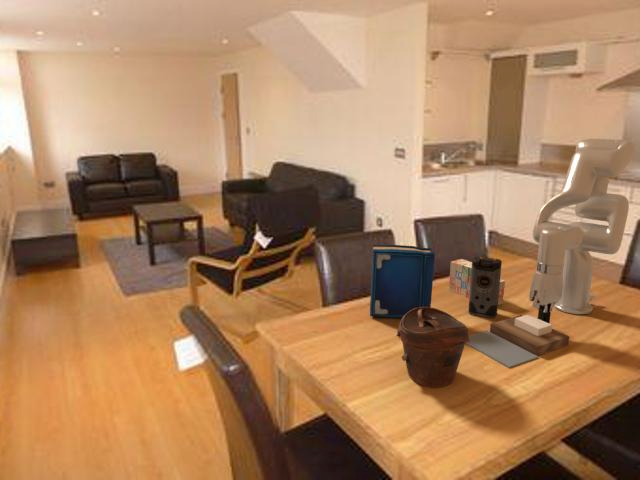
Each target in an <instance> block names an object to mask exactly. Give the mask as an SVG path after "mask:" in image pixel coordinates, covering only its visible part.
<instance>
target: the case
mask: <svg viewBox="0 0 640 480" xmlns="http://www.w3.org/2000/svg"><path fill="white" fill-rule="evenodd" d="M396 333H397V334H396V337H398V339H399V340H400V341H401V343H402V348H403V352H404V354H403V355H402V356H401V359H402V361H404V362H405V365H406V371H407V374H408V377H409V378H410V379H411V380H413V382H415V383H417V384H419V385H421V386H423V387H430V388H441V387H446V386H449V385H451V384H452V383H453V382H454V380H455V378H456V373H457V370H458V367H459V365H460V361H461V359H462V355H463V352H464V349H465V346H466V344H465V342H470V340H469V330H468V327H467V326H466V324H464V323H463V322H462V321H460V320H458V319H457V318H456V317H454V316H452V315H451V314H450V313H447V312H446V311H443V310H441V309H438V308H435V307H418V308H414V309H412V310H410V311H409V312H407V313H406V314H405V315H404V316H403V318H400V322H399V325H398V329H397V332H396Z"/></svg>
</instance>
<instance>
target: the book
mask: <svg viewBox="0 0 640 480" xmlns="http://www.w3.org/2000/svg"><path fill="white" fill-rule="evenodd" d="M435 258H436V252H435V250H433V249H432V248H429V247H418V246H416V245H415V246H414V245H402V244H373V246H372V262H371V285H370V302H369V303H370V304H369V306H370V307H369V317H376V318H385V319H402V318H403V316H404V315H405V314H406V313H407V312H409V311H410V310H412V309H414V308H418V307H431V306H432V295H433V282H434V273H435V272H434V271H435ZM431 308H432V307H431Z"/></svg>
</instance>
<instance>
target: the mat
mask: <svg viewBox="0 0 640 480" xmlns="http://www.w3.org/2000/svg"><path fill="white" fill-rule="evenodd" d="M468 336H469V340H470V342H465V345H468V346H469V347H471V348H473V349H475V350H476V351H478V352H479V353H482V354H483V355H485V356H487V357H489V358H490V359H492V360H494V361H495V362H497V363H499V364H500V365H503V366H504V367H506V368H508V369H510V368H513V367H517V366H519V365H522V364H524V363H528V362H531V361H533V360H536V359H539V355H538V356H536V355H534V354H532V353H530V352H528V351H526V350H524V349H522V348H520V347H518V346H516V345H514V344H512V343H511V342H509V341H507V340H505V339H503V338H501V337H499V336H497V335H495V334H493V333H491V332H490V330H489V331H488V330H483V331H480V332H479V331H478V332H476V333H473V334H468Z"/></svg>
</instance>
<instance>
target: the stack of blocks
mask: <svg viewBox="0 0 640 480" xmlns="http://www.w3.org/2000/svg"><path fill="white" fill-rule="evenodd" d="M471 270H472V261H469V260H467V259H463V258H461V259H456V260H452V261H450V268H449V271H450V272H449V285H448V286H449V287H448V291H451V292H453V293H455V294H458V295H460V296H463V297H465V298H468V299H469V297H470V282H471ZM505 285H506V280H504V279H501V278H500V287H499V298H498V306H500V305H503V304H504V295H505Z"/></svg>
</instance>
